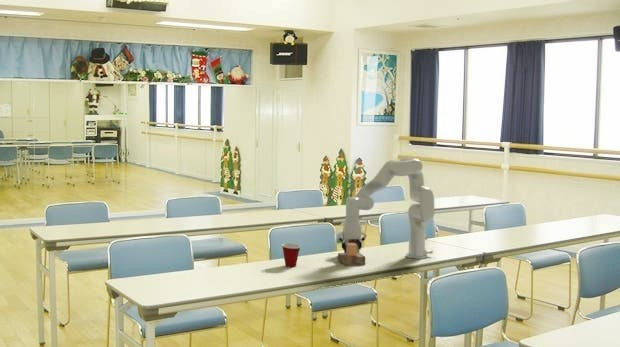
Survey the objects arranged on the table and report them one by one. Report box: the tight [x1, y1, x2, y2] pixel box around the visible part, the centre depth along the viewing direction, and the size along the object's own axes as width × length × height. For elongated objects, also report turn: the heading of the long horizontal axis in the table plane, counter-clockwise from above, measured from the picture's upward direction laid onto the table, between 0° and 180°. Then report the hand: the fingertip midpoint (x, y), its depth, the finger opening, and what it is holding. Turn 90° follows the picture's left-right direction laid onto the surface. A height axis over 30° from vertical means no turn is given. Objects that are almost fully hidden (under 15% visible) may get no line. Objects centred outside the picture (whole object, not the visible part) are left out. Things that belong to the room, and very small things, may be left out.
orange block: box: [346, 243, 357, 256], centre depth 383 cm, size 5×5×6 cm
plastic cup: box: [281, 242, 302, 268], centre depth 373 cm, size 11×11×12 cm
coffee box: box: [343, 239, 360, 253], centre depth 401 cm, size 9×6×16 cm
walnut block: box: [337, 252, 366, 267], centre depth 383 cm, size 12×12×5 cm
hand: (351, 249), depth 383 cm, fingers open, 8 cm apart
